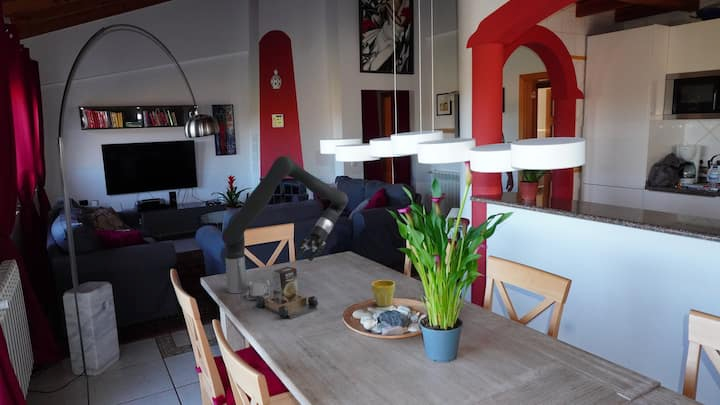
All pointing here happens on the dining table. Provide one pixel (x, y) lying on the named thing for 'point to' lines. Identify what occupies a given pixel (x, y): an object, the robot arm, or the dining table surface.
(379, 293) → the plant pot
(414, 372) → the dining table surface
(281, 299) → the coffee box
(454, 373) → the dining table surface
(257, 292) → the car model
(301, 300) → the chassis
